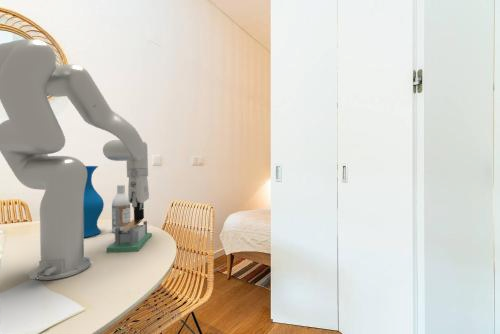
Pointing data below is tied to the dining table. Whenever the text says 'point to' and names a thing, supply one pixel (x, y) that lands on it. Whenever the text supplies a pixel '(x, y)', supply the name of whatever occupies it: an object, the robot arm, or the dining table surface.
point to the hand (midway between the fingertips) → (139, 219)
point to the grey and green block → (130, 239)
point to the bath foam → (120, 209)
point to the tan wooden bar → (129, 226)
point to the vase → (91, 205)
